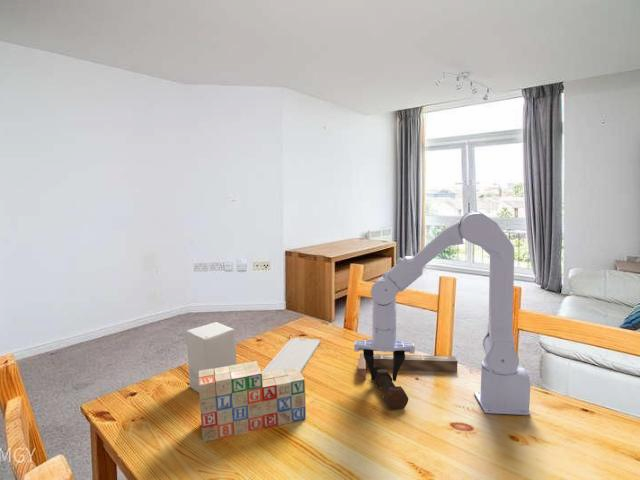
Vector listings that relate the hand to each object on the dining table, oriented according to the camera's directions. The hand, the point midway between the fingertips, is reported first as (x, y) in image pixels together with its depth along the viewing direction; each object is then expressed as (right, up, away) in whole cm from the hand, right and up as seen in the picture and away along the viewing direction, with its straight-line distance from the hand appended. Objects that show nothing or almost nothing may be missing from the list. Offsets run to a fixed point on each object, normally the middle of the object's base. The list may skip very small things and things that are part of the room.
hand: (383, 378), depth 91 cm
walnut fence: (+8, -1, +7) cm, 10 cm away
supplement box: (-43, -3, +2) cm, 43 cm away
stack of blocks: (-30, -5, -13) cm, 33 cm away
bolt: (0, -3, -2) cm, 4 cm away
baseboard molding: (-25, -2, +15) cm, 29 cm away
